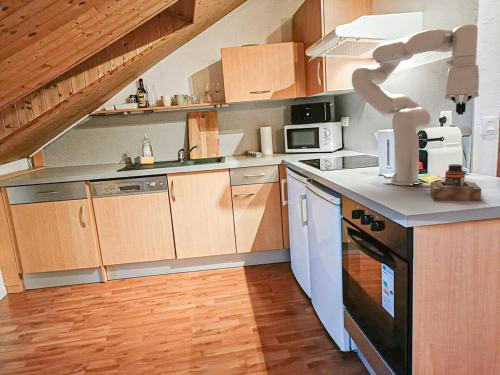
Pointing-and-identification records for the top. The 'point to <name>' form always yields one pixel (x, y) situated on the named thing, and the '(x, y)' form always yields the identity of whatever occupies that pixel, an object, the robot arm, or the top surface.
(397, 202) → the top surface
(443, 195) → the jig
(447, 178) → the supplement bottle
